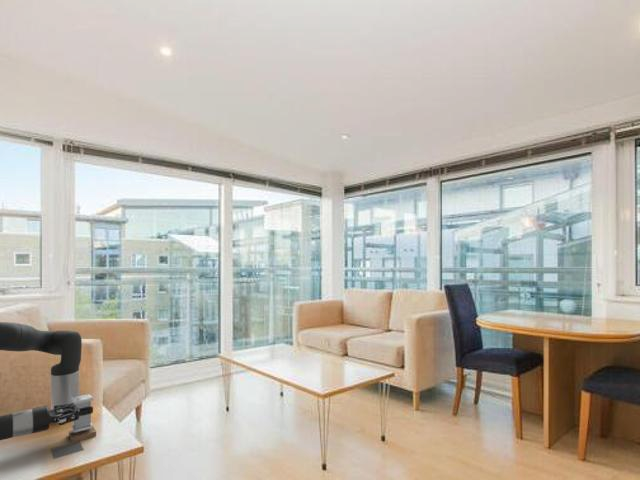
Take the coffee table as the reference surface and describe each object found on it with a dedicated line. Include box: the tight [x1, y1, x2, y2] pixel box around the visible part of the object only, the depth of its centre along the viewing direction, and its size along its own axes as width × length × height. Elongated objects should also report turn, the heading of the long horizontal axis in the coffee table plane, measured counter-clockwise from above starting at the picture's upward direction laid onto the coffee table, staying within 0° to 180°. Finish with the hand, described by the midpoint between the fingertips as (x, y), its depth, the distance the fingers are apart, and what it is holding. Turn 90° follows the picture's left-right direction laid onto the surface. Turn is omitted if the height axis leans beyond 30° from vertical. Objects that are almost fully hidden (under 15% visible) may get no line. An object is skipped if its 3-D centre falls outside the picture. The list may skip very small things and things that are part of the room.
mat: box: [50, 440, 85, 460], centre depth 127 cm, size 8×8×1 cm
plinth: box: [68, 426, 97, 443], centre depth 137 cm, size 7×7×2 cm
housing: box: [70, 393, 94, 433], centre depth 137 cm, size 6×6×10 cm
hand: (91, 407), depth 139 cm, fingers closed on housing, 4 cm apart
